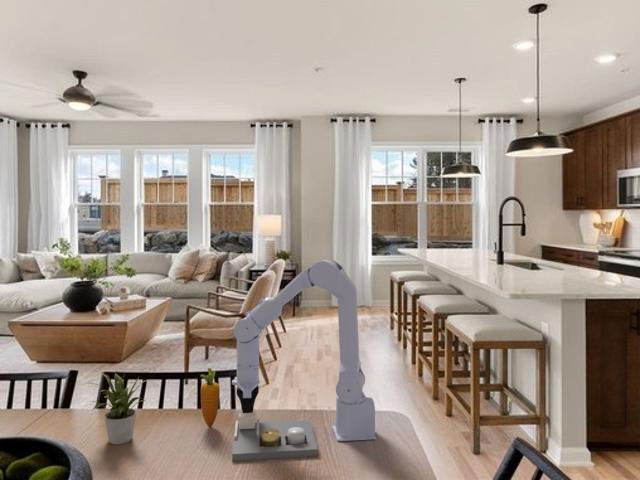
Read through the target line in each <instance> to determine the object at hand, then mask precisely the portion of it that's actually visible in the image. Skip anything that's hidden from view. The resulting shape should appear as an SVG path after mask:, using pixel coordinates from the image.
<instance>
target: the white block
mask: <svg viewBox="0 0 640 480" xmlns="http://www.w3.org/2000/svg"><path fill="white" fill-rule="evenodd" d="M238 423H239V429H255V423H256V412H253V413H243V412H240V413H239V414H238Z"/></svg>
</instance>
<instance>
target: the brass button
mask: <svg viewBox="0 0 640 480" xmlns="http://www.w3.org/2000/svg"><path fill="white" fill-rule="evenodd" d="M261 445H262V447H273V446H279V445H280V442H279V431H278V430H277V429H265V430H263V431H262V443H261Z"/></svg>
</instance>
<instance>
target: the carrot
mask: <svg viewBox="0 0 640 480" xmlns="http://www.w3.org/2000/svg"><path fill="white" fill-rule="evenodd" d="M207 373H208V375H206V374H200V377H201V378H203V379H204V380H205V381H206V382H205V383H203V384H201V387H200V407H201V412H202V417H203V419H204V422H205V424H206V425H207V427H208V428H211V427H213V425H214V424H215V421H216V419H217V415H218V411H219V410H218V409H219V404H220V401H219V400H220V384H219V383H218V382H215V381H214V379H215V376H216V371H215V370H213V371H212V367H208V368H207Z"/></svg>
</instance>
